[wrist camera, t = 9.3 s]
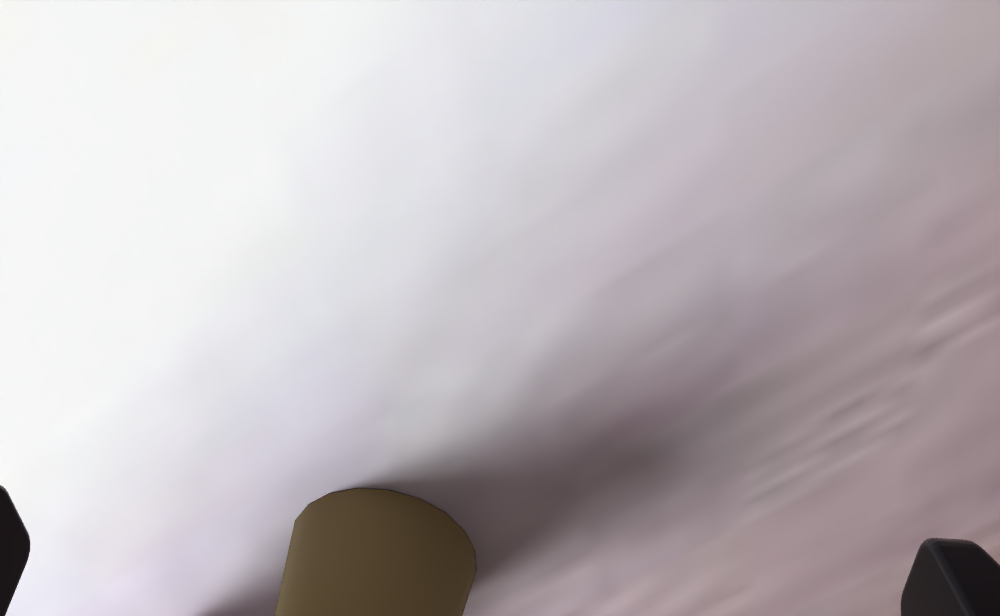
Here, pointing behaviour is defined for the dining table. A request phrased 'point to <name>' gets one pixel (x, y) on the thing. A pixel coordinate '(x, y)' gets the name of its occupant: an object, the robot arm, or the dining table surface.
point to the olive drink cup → (376, 558)
